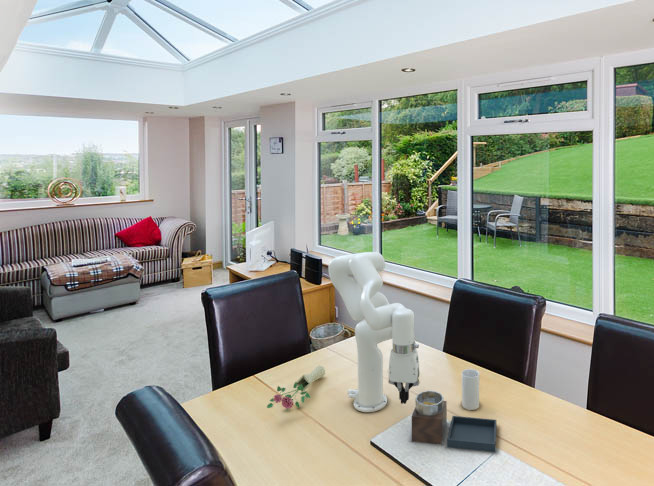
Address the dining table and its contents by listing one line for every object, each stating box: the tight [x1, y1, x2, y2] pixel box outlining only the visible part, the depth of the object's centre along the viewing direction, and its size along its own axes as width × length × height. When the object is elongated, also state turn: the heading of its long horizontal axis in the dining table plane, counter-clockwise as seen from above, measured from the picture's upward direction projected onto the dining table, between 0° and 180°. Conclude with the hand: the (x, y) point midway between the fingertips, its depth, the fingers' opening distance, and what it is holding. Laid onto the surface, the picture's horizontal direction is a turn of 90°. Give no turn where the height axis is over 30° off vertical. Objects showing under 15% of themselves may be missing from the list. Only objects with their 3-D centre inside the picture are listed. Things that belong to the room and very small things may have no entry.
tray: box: [446, 415, 498, 453], centre depth 141 cm, size 15×13×2 cm
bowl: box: [414, 390, 445, 416], centre depth 144 cm, size 9×9×4 cm
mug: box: [461, 368, 480, 411], centre depth 161 cm, size 10×7×12 cm, turn 159°
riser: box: [411, 400, 448, 445], centre depth 143 cm, size 10×11×8 cm
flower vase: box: [266, 365, 326, 411], centre depth 164 cm, size 12×12×35 cm
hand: (404, 401), depth 145 cm, fingers closed
